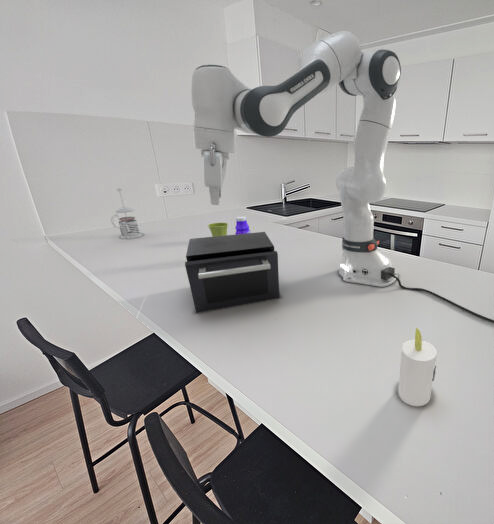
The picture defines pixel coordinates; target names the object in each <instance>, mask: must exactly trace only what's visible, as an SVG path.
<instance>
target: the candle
mask: <svg viewBox="0 0 494 524" xmlns="http://www.w3.org/2000/svg"><path fill="white" fill-rule="evenodd" d="M437 352H438V351H437V349H436V347H435V346H434V345H433V344H432V343H430V342H428V341H425V340H423V338H422V332H421V331H420V329H419V328H418V327H416V328H415V334H414V339H409V340H406V341H405V342H403V344H402V346H401V355H400V364H399V365H400V366H399V377H398V388H397V394H398V396H399V398H400V400H401V401H402V402H404V403H405V404H407V405H409V406H412V407H422V406H425V405H427V404H428V403H429V402H430V400H431V396H432V391H433V390H432V388H433V384H434V383H433V382H434V381H435V378H436V377H435V376H436V369H437V365H436V362H437V361H436V360H437V355H438V353H437Z"/></svg>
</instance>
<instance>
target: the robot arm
mask: <svg viewBox="0 0 494 524" xmlns="http://www.w3.org/2000/svg"><path fill="white" fill-rule="evenodd" d="M296 68H297V71H296V72H295V73H293V74H292V75H290V76H288V77H287V78H286V79H284V80H282V81H281V82H280V83H279V84H276V85H260V86H255V87H254V88H250V87H248V86H247V85H245V84H244V83H243V82H242V81H240V79H239V78H237V77H236V76H235V75H234V73H232V71H231V69H229V68H228V67H226V66H223V65H219V64H203V65H200V66H198V67H196V68H195V69H194V70H193V72H192V76H191V107H192V110H193V114H194V119H193V123H192V131H193V148H194V149H196V150H199V154H200V157H202V158H203V159H202V161H203V163H202V164H203V184H204V187H206V188H208V191H209V197H210V204H211V205H212V206H219V205H220V199H221V197H222V187H223V184H224V181H225V177H226V170H227V160H230V154H235V129H236V130H239V131H241V132H243V133H246V134H250V135H258V136H262V137H264V138H265V137H267V138H271V137H275V136H278V135H279V134H281V133H282V132H283V131H284V130H285V128H286V127H287V125H288V124H289V122H290V121H291V118H292V117H293V115H294V114H295V113H296V112H297V111H298V110H299V109H300V108H302V107H303V106H304V105H306V104H307V103H308V102H309V101H311V100H312V99H313V98H315V97H316V96H317V95H320V94H322V93H325V92H327V91H329V90H330V89H333V88H334V87H335V86H337V85H338V86H339V88H340V89H341V91H342V92H343V93H345V94H346V95H349V96H353V97H356V96H361V97H362V100H363V106H362V107H363V108H362V111H361V113H360V117H359V121H358V124H357V129H356V133H355V135H354V136H355V137H354V140H353V143H352V145H353V146H352V148H353V151H354V164H353V166H349V167H346V168H344V169H342V170H340V172H338V173H337V175H336V179H335V185H336V188H337V190H338V193H339V200H340V205H341V210H342V211H341V212H342V217H343V218H342V220H343V236H342V238H341V239H342V240H341V248H342V258H341V263H340V268H339V270H338V274H339V276H341V278H342V281H344V282H347V283H352V284H353V283H354V284H359V285H367V286H374V287H380V288H385V287H387V286H390V285H393V283H395V282H396V281H397V283H398V286H399V287H400V288H401V289H403V290H409V291H420V292H424V293H427V294H430V295H432V296H434V297H436V298H438V299H440V300H443V301H444V302H446V303H449V304H450V305H452V306H454V307H456V308H458V309H460V310H462V311H464V312H467V313H469V314H470V315H472V316H474V317H477V318H479V319H482V320H485V321H487V322H490V323H491V324H494V319H492V318H489V317H486V316H484V315H482V314H479V313H477V312H474V311H473V310H470V309H468V308H466V307H464V306H462V305H459V304H458V303H456V302H454V301H452V300H450V299H448V298H446V297H443V296H441V295H439V294H437V293H435V292H433V291H431V290H428V289H425V288H421V287H406V286H405V285H404V286H403V285H402V283H401V282H402V281H401V280H400V278H398V276H399V275H398V272H397V271H396V270H395V267H393V264H392V261H391V259H390V258H388V256H387V255H385V254H384V253H383V252H382V251H381V250H380V249H379V248H378V245H379V244H380V240H376V239H375V237H374V229H375V228H374V227H375V226H374V225H375V217H374V214H373V212H372V210H371V209H372V208H371V206H370V204H374V203H378V202H379V201H381V200H382V199H383V198H384V197H385V195H386V193H387V190H388V185H387V180H386V178H385V157H386V152H387V147H388V144H389V140H390V136H391V132H392V128H393V125H394V119H395V114H396V105H397V101H396V99H397V98H396V97H395V95H394V94H396V92H397V89H398V85H399V83H400V79H401V74H402V73H401V72H402V67H401V62H400V59H399V57H398V55H397V54H396V52H394V51H392V50H390V49H378V50H371V51H370V50H369V51H365V52H363V51H362V47H361V44H360V41H359V39H358V38H357V36H356V35H355V34H354V33H353V32H351V31H349V30H341V31H336V32H333V33H330V34H328V35H325V36H324V37H322V38H320V39H318V40H316V41H315V42H313V43H311V44H310V45H309V46H308V47H306V48H305V50H303V51H302V52H301V53H300V54H299V55H298V58H297V63H296Z"/></svg>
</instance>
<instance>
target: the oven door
mask: <svg viewBox="0 0 494 524" xmlns="http://www.w3.org/2000/svg"><path fill="white" fill-rule="evenodd" d="M184 266H185V272H186V275H187V279H188V283H189V288H190V292H191V296H192V300H193V305H194V309H195V313H196V314H197V313H203V312H210V311H214V310H221V309H225V308H231V307H237V306H242V305H243V306H244V305H249V304H253V303H259V302H263V301H269V300H275V299H280V278H279V276H280V275H279V253H278V251H277V250H274V251H272V252H264V253H256V254H247V255H239V256H231V257H222V258H214V259H206V260H197V261H189V262H187V261H185V262H184Z"/></svg>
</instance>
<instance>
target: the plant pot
mask: <svg viewBox="0 0 494 524" xmlns="http://www.w3.org/2000/svg"><path fill="white" fill-rule="evenodd" d="M228 226H229V223H227V222H213V223H208V225H207V227H208V228H209V230H210V234H211V237H215V236H225V235H228Z"/></svg>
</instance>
